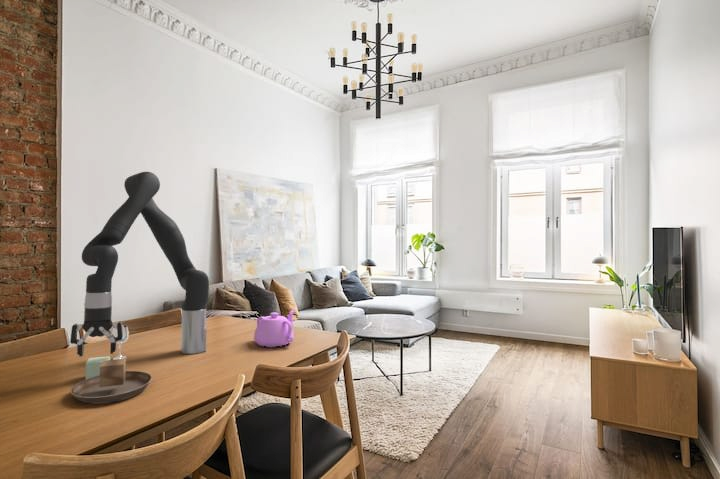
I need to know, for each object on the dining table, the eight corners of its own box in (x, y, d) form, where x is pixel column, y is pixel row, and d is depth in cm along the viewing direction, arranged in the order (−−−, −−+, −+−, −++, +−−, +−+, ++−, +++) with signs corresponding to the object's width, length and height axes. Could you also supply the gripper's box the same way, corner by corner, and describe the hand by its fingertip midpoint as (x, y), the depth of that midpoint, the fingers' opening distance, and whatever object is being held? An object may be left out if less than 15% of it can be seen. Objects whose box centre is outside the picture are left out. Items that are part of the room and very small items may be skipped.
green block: (110, 373, 136) (110, 356, 136) (107, 379, 130) (107, 361, 130) (89, 376, 133) (89, 358, 133) (85, 382, 128) (85, 363, 128)
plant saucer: (91, 414, 106) (92, 402, 106) (57, 396, 116) (57, 385, 116) (165, 390, 123) (165, 379, 123) (129, 376, 134) (129, 366, 134)
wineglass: (120, 361, 149) (120, 328, 149) (107, 359, 150) (107, 328, 150) (132, 356, 155) (132, 325, 155) (119, 355, 156) (119, 324, 156)
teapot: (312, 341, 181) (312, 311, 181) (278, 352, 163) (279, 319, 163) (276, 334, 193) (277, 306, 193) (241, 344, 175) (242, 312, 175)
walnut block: (125, 377, 124) (125, 358, 124) (123, 384, 118) (123, 364, 118) (102, 380, 121) (103, 360, 121) (99, 387, 116) (99, 366, 116)
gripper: (124, 303, 138) (123, 349, 138) (75, 304, 132) (73, 353, 132) (121, 306, 131) (120, 355, 131) (69, 308, 125) (67, 359, 125)
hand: (96, 354), depth 132 cm, fingers open, 8 cm apart
